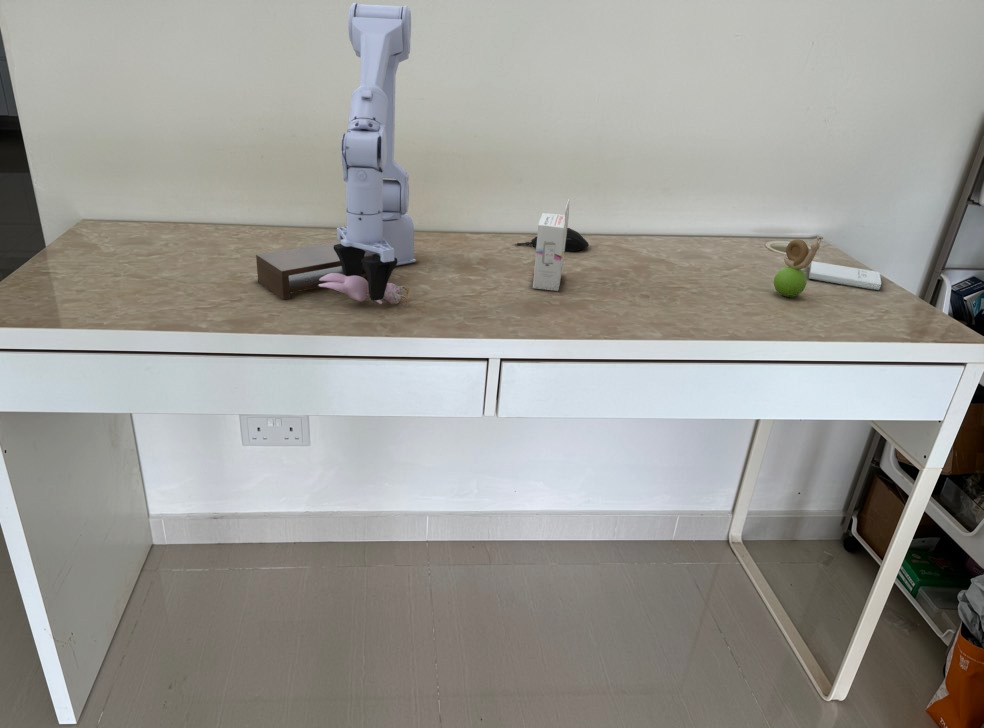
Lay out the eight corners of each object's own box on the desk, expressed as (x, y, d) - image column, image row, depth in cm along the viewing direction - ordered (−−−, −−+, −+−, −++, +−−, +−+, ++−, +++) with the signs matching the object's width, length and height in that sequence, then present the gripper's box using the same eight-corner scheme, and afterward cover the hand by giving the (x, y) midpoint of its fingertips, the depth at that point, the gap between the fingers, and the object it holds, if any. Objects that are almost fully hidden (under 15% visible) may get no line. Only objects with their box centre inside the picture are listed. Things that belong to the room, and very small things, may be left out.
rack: (347, 265, 145) (346, 239, 142) (375, 281, 138) (375, 254, 136) (258, 282, 135) (255, 254, 133) (283, 299, 128) (281, 271, 126)
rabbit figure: (406, 294, 132) (319, 278, 130) (414, 267, 128) (324, 250, 125) (405, 318, 128) (315, 302, 125) (413, 291, 124) (319, 274, 121)
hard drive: (809, 268, 156) (877, 278, 152) (808, 279, 149) (879, 291, 145) (811, 260, 155) (879, 270, 151) (810, 271, 149) (881, 283, 144)
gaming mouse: (516, 240, 164) (517, 222, 162) (585, 243, 164) (588, 225, 162) (518, 249, 158) (519, 230, 157) (589, 252, 159) (592, 233, 157)
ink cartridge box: (535, 273, 145) (543, 195, 138) (561, 276, 145) (571, 198, 138) (530, 288, 138) (539, 207, 131) (558, 291, 137) (568, 209, 130)
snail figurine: (792, 304, 137) (810, 238, 131) (764, 292, 142) (780, 228, 136) (813, 300, 139) (832, 235, 133) (784, 289, 144) (801, 225, 138)
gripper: (319, 203, 124) (322, 283, 130) (366, 224, 114) (367, 310, 120) (357, 198, 128) (358, 277, 134) (406, 218, 118) (404, 302, 124)
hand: (364, 292), depth 127 cm, fingers open, 7 cm apart
